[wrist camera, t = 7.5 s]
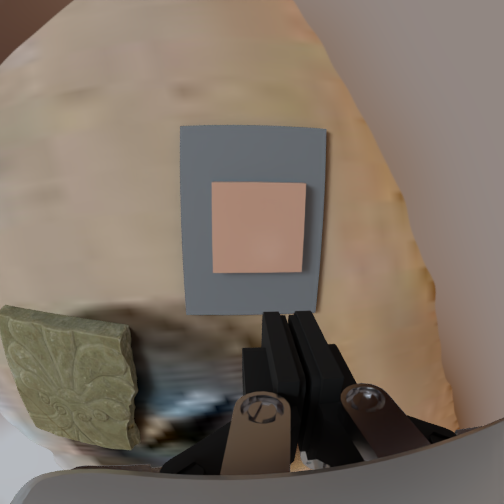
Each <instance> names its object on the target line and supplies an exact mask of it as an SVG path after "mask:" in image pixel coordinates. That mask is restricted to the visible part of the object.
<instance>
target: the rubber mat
mask: <svg viewBox="0 0 504 504" xmlns="http://www.w3.org/2000/svg"><path fill="white" fill-rule="evenodd" d="M325 164H326V129H318V128H304V127H286V126H259V125H202V126H180V194H181V228H182V251H183V270H184V286H185V301H186V314H187V315H255V314H263V312H276V311H279V313H280V314H292V313H294V312H295V311H311V312H312V313H315V311H316V301H317V291H318V280H319V268H320V256H321V242H322V227H323V210H324V190H325ZM212 181H277V182H303V183H306V199H305V221H304V241H303V258H302V272H273V273H213V253H212Z"/></svg>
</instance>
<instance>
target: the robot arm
mask: <svg viewBox="0 0 504 504" xmlns="http://www.w3.org/2000/svg"><path fill="white" fill-rule="evenodd" d="M242 378H243V396H242V397H241V398H240V399H239V400H238V401H237V402H236V404H235V406H234V411H233V416H232V421H230V422H229V423H227V424H226V425H224V426H223V427H221V428H220V429H218V430H217V431H215V432H214V433H212V434H211V435H209V436H208V437H206V438H204V439H203V440H201V441H200V442H198V443H196V444H195V445H193V446H192V447H190V448H188V449H187V450H185V451H184V452H182V453H180V454H179V455H177V456H175V457H173V458H172V459H170V460H169V461H168V462H166V463H165V464H164V465H163V466H162V467H153V468H152V467H151V464H143V465H121V466H79V467H76V468H73V469H71V470H62V471H55V472H50V473H46V474H42V475H39V476H37V477H35V478H33V479H31V480H30V481H29V482H27V483H26V484H25V485H24V486H23V487H22V488H21V489H20V490H19V492H18V493H17V494H16V495H15V497H14V499H13V500H12V502H11V503H10V504H504V418H502V419H499V420H497V421H494V422H492V423H490V424H487V425H484V426H481V427H474V428H467V429H460V430H456V431H455V433H454V432H452V431H451V430H448V429H446V428H443V427H440V426H437V425H434V424H431V423H428V422H425V421H422V420H419V419H416V418H413V417H410V416H408V415H406V414H405V413H404V412H403V411H402V410H401V408H400V407H399V406H398V405H397V404H396V403H395V402H394V400H393V399H392V398H391V397H390V396H389V395H388V393H387V392H385V391H384V390H383V389H382V388H380V387H378V386H375V385H372V384H364V383H360V384H357V383H356V381H355V379H354V378H353V376H352V374H351V372H350V370H349V368H348V366H347V364H346V362H345V361H344V359H343V357H342V355H341V353H340V351H339V349H338V347H337V346H336V345H335V344H327V342H326V340H325V338H324V336H323V334H322V332H321V330H320V328H319V326H318V324H317V322H316V320H315V318H314V316H313V314H312V312H311V311H295V312H294V315H289V318H288V323H287V320H286V317H285V315H280V313H279V311H276V312H263V317H262V346H261V348H243V349H242ZM297 443H298V446H299V450H300V456H301V460H302V462H303V464H304V465H306V466H307V467H309V468H311V469H314V470H307V471H298V472H290V464H291V463H292V462H293V461H294V458H295V453H296V448H297Z"/></svg>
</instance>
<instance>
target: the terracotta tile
mask: <svg viewBox="0 0 504 504" xmlns="http://www.w3.org/2000/svg"><path fill="white" fill-rule="evenodd" d="M305 199H306V183H303V182H277V181H212V253H213V273H273V272H302V258H303V241H304V221H305Z"/></svg>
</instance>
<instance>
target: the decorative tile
mask: <svg viewBox="0 0 504 504" xmlns="http://www.w3.org/2000/svg"><path fill="white" fill-rule="evenodd" d="M0 336H1V340H2V343H3V347H4V351H5V355H6V358H7V361H8V364H9V367H10V370H11V372H12V375H13V377H14V380H15V383H16V385H17V389H18V391H19V394H20V396H21V398H22V400H23V402H24V405H25V407H26V409H27V411H28V413H29V415H30V417H31V419H32V420H33V422H34V424H35V426H36V427H38V428H40V429H42V430H45V431H48V432H50V433H53V434H55V435H57V436H61V437H66V438H69V439H72V440H77V441H81V442H84V443H89V444H94V445H98V446H102V447H106V448H112V449H126V450H132V448H133V447H134V446H135V445H136V444H139V443H140V431H139V429H138V427H137V425H136V424H135V422H134V410H135V408H136V407H135V404H134V397H135V396H136V394H137V392H138V387H137V377H136V369H135V365H134V362H133V356H132V348H131V333H130V329H129V326H128V325H124V324H117V323H111V322H104V321H97V320H91V319H84V318H78V317H72V316H66V315H59V314H53V313H47V312H42V311H36V310H30V309H24V308H19V307H14V306H9V305H5V306H3V307H2V309H1V310H0Z"/></svg>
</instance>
